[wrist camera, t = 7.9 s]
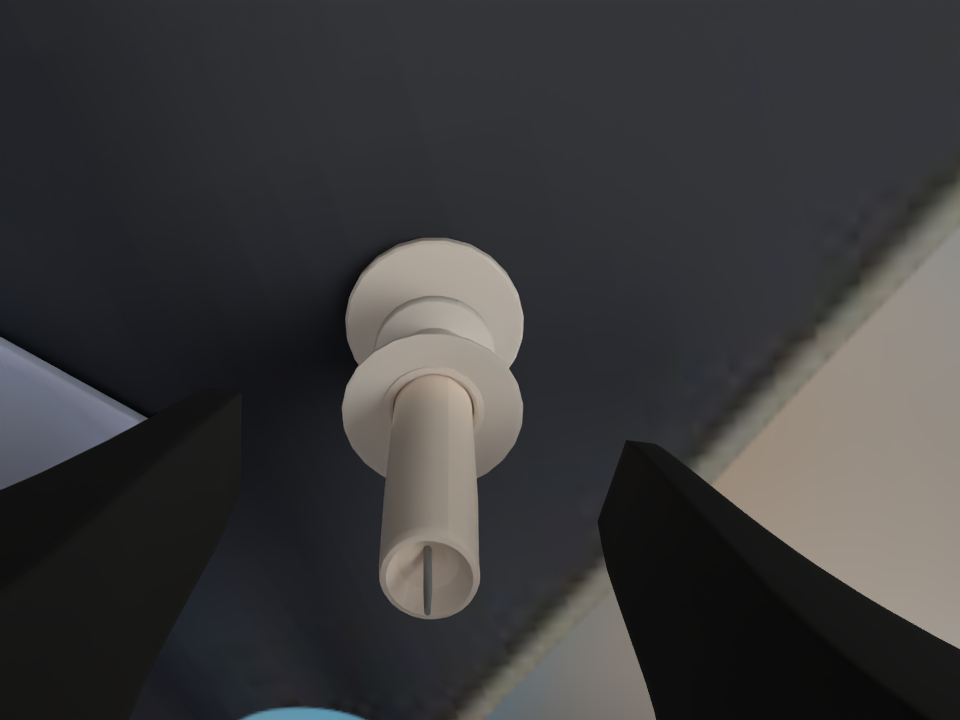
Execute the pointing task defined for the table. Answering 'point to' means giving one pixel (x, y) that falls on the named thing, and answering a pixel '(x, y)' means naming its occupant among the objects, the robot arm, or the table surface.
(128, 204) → the table surface
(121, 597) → the robot arm
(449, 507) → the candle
